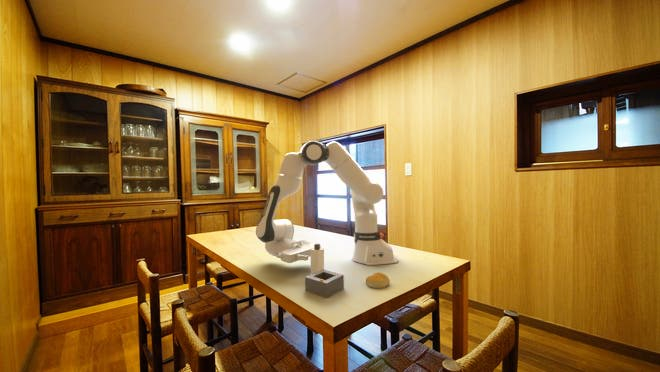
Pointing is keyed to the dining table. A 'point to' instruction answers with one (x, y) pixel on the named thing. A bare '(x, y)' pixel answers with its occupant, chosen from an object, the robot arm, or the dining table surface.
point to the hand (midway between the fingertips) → (314, 255)
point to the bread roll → (377, 280)
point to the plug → (317, 258)
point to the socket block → (324, 283)
